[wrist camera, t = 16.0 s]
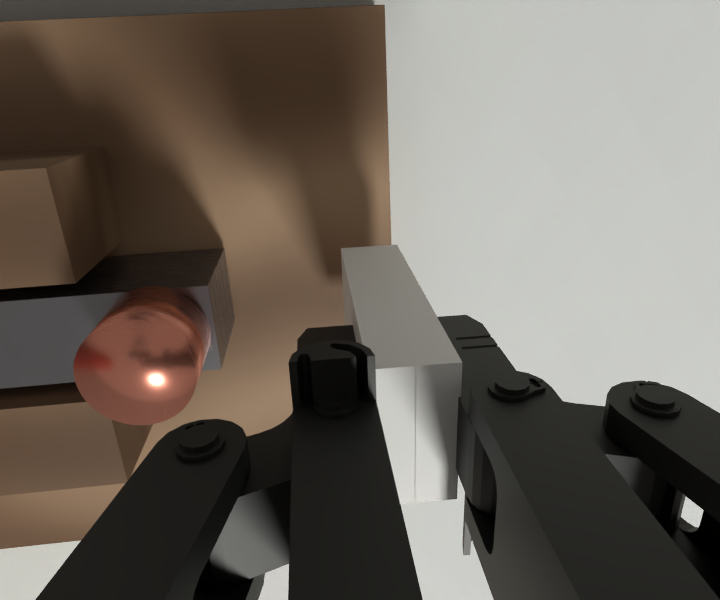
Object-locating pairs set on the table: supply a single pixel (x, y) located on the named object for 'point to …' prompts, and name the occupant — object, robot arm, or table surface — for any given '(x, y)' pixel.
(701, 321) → the table surface
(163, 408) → the pin
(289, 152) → the mount plate
